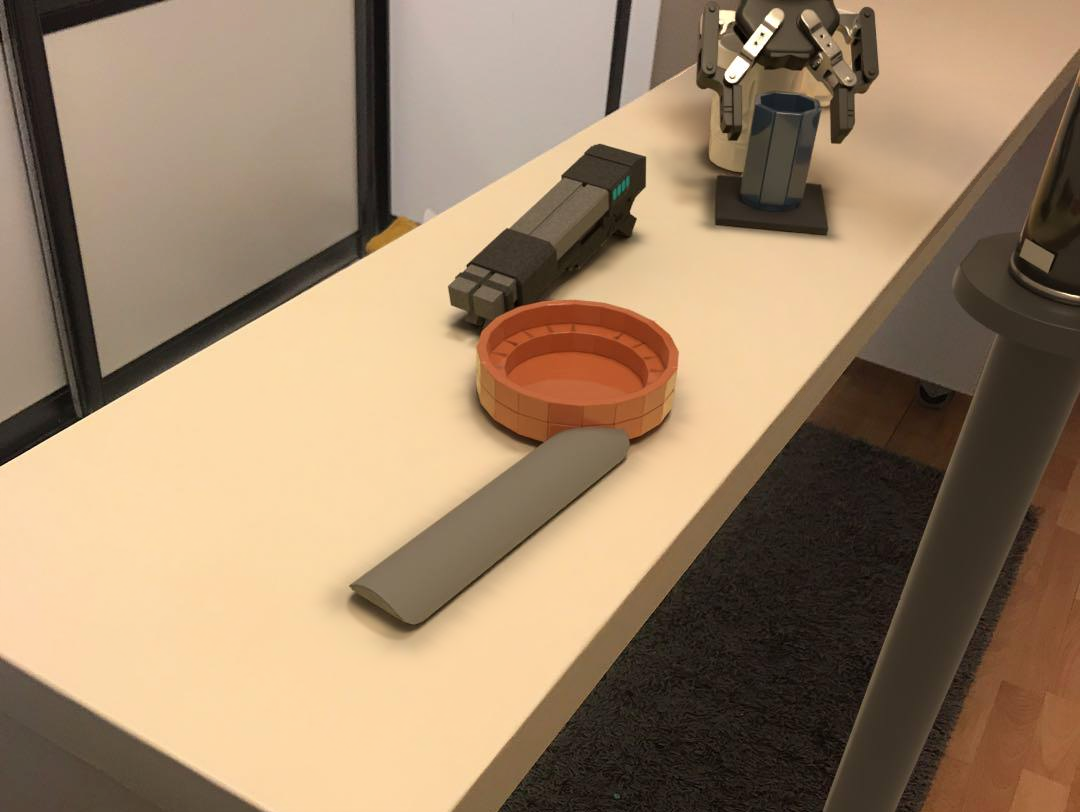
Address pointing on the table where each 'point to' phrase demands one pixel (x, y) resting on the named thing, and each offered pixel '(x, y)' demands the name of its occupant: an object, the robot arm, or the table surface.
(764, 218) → the mat
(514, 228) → the gun
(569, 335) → the big bowl
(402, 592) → the gray half cylinder
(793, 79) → the white cup
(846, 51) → the cup
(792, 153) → the octagonal grey canister
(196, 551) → the table surface
